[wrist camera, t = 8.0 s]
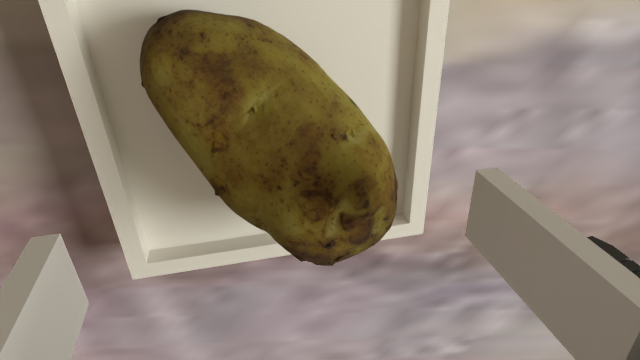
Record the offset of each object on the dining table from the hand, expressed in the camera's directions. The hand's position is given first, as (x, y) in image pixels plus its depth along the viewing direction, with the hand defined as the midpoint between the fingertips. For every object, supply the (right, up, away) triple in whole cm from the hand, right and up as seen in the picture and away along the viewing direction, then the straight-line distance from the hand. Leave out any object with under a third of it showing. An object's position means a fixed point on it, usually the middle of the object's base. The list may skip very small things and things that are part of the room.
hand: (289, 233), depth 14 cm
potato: (-2, +6, +9) cm, 11 cm away
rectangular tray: (-2, +7, +11) cm, 13 cm away
